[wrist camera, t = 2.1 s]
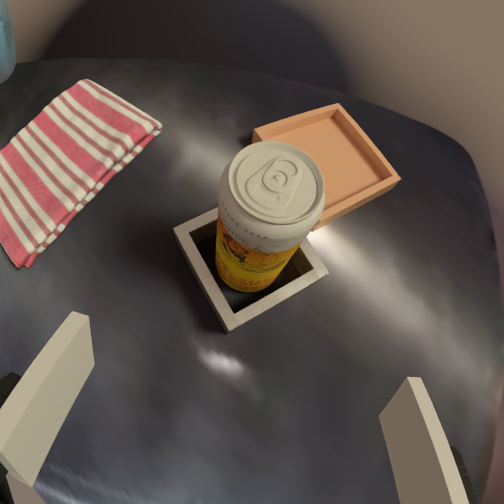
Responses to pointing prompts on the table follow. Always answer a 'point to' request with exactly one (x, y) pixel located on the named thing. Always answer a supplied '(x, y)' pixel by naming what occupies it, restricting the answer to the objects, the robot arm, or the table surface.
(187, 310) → the table surface
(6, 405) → the robot arm
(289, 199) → the beer can
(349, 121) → the serving tray
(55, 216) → the dish towel
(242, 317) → the frame
